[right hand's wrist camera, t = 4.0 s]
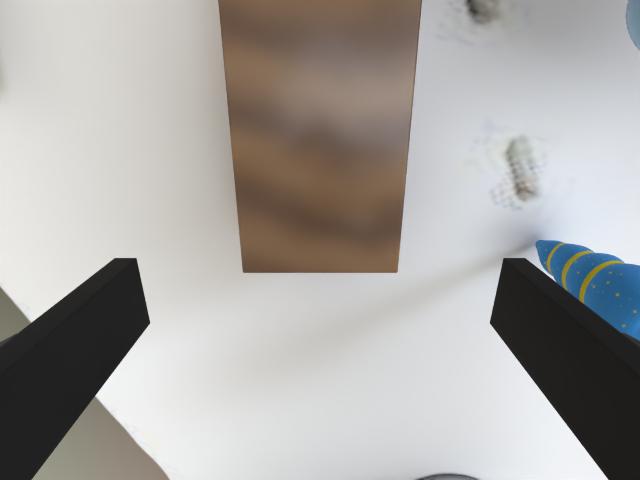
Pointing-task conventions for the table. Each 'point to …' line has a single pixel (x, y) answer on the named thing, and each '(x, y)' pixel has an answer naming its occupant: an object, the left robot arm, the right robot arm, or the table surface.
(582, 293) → the ornament
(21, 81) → the table surface
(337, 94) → the cabinet
